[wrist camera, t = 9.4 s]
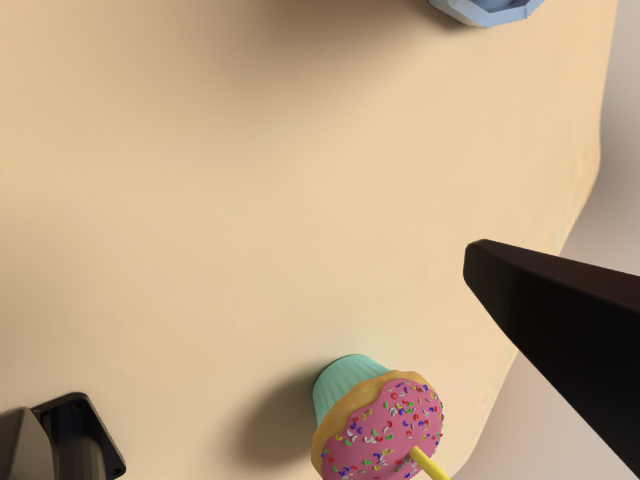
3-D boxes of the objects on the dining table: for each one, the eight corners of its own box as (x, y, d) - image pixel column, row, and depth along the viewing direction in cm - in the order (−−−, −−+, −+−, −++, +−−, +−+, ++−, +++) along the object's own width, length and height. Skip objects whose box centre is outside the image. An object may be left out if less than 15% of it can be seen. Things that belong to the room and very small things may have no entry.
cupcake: (328, 319, 29) (461, 491, 19) (418, 342, 34) (559, 487, 24) (263, 428, 30) (355, 633, 21) (357, 434, 35) (466, 602, 26)
